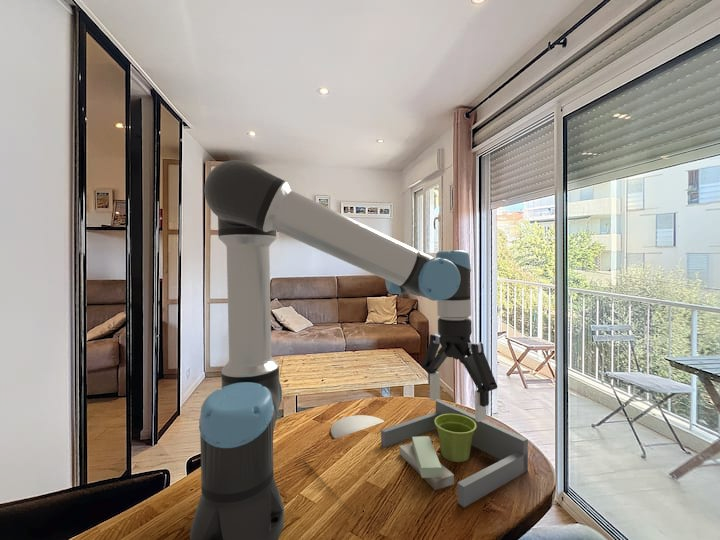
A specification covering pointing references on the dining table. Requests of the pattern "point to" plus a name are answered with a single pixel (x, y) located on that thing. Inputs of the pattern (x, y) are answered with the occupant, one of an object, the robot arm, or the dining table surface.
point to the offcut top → (426, 457)
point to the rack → (485, 437)
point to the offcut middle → (410, 457)
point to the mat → (353, 424)
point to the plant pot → (455, 436)
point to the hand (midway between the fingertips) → (456, 408)
